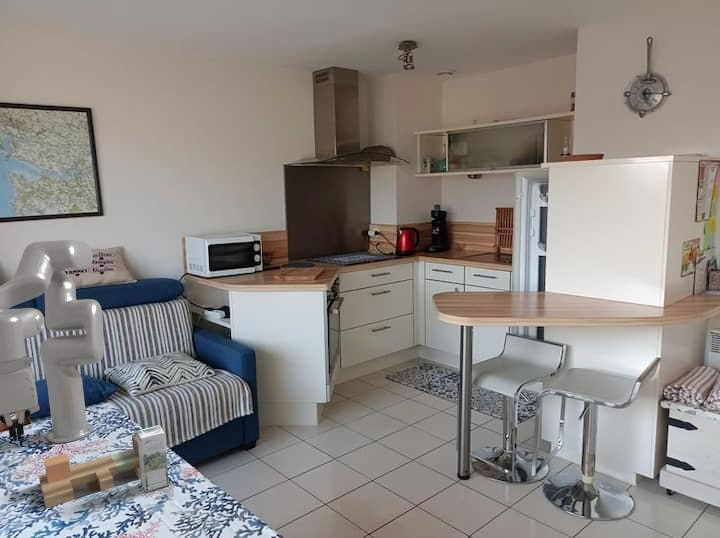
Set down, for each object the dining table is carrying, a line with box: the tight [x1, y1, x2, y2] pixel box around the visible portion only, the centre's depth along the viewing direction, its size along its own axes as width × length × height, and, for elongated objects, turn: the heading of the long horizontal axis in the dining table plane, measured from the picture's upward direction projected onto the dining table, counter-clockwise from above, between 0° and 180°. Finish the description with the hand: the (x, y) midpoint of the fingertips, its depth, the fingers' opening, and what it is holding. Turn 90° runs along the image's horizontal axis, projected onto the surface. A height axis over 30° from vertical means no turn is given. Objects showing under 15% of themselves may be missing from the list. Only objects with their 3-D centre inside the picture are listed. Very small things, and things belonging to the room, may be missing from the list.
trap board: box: [38, 434, 141, 509], centre depth 140 cm, size 14×24×6 cm, turn 126°
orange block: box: [43, 453, 71, 484], centre depth 137 cm, size 5×5×4 cm
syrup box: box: [136, 425, 170, 493], centre depth 135 cm, size 6×6×14 cm
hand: (17, 438), depth 131 cm, fingers closed
